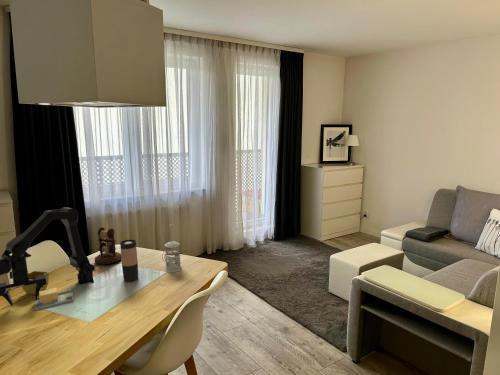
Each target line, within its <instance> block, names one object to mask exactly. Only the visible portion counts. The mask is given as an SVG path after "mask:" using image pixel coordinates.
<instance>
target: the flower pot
mask: <svg viewBox="0 0 500 375" xmlns="http://www.w3.org/2000/svg"><path fill="white" fill-rule="evenodd" d="M28 273H29V280H34V279H36V276H41V275H46V278H47V284H46V285H43V287H41V288H40V291H44V290H47V287H48V285H49V279H50V278H49V277H50V272H49V271H42V270H33V271H30V272H28ZM35 288H36V284H31V285H27V286H22V287H21V289H22V291H24V292H25V293H26V294H27V295H34V296H35ZM38 295H39V293H38Z"/></svg>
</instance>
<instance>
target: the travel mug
mask: <svg viewBox="0 0 500 375" xmlns="http://www.w3.org/2000/svg"><path fill="white" fill-rule="evenodd" d="M119 244H120V246H119V247H120V254H121V259H120V260H121V267H122V269H121V270H122V277H123V278H122V279H123V281H124V282H125V283H133V282H135V281H138V280H139V262H138V261H139V260H138V251H137V241H136V239H125V240H122V241H120V243H119Z"/></svg>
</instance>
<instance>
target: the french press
mask: <svg viewBox="0 0 500 375" xmlns="http://www.w3.org/2000/svg"><path fill="white" fill-rule="evenodd" d="M168 227H169V228H172V227H174V225H173V224H169V225H168ZM170 236H171V238H170V239H171V241H168V242H166V243H165V244H164V247H165V249H164V250H163V251H162V253H161V254H162V255H161V258H162V261H163V262H164V263H165V268H164V271H165V272H168V273H175V272H179V271H182V270H183V266H182V265H181V254H180V250H179V249H173V248H177V247H179V246H180V243H179V242H178V241H175V240H173V237H172V236H173V234H172V231H170ZM166 248H168V249H166ZM163 256H164V257H163Z"/></svg>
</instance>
